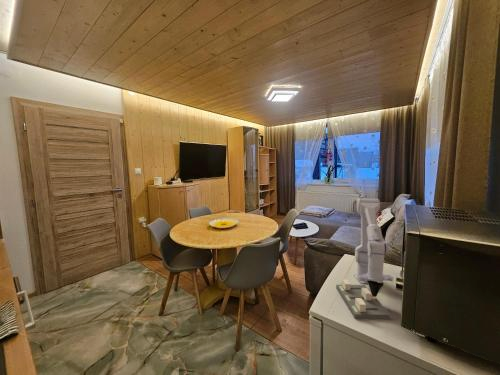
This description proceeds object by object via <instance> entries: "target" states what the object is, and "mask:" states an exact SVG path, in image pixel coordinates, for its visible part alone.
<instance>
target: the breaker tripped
mask: <svg viewBox="0 0 500 375" xmlns="http://www.w3.org/2000/svg"><path fill="white" fill-rule="evenodd" d="M367 288H368V287H367ZM367 288H362V291H361V295H362V296H363V297H364V299H365V300H371V298H372V293H371V292H370V291H369V290H370V289H369V288H368V289H369V290H368V289H367Z"/></svg>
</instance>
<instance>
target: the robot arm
mask: <svg viewBox="0 0 500 375" xmlns="http://www.w3.org/2000/svg"><path fill="white" fill-rule="evenodd" d="M380 201H381V200H380V199H379V198H363V197H362V198H361V197H358V198H357V199H356V212H357V214H359V215H360V244H359V245H358V246H356V247H355V249H354V251H355V252H354V260H355V262H356V263H357V270H356V272H357V273H354V274H353V276H354V277H355V278H356V280H357V281H358V282H359V283H360V284H368V287H369V290H370V291H371V293H372V296H373V297H376V298H377V296H378V294H379V292H380V290H381V289H382V288H383V287H384V281H389V282H393V281H394V277H393V276H392V275H391V274H384V262H385V255H387V250H388V248H387V246H388V245H387V243H386V241H385V239H384V238H383V234H382V228H381V227H380V226H379V225H378V219H377V218H378V216H377V213H378V212H379V210H380V208H381V202H380Z"/></svg>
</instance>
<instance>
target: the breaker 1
mask: <svg viewBox="0 0 500 375" xmlns="http://www.w3.org/2000/svg"><path fill="white" fill-rule="evenodd" d="M341 285H342V286H343V288H344V289H345V290H350V287H351V285H352V284H351V282H350V281H349V280H348V279H346V278H343V279H341Z"/></svg>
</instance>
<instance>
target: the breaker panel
mask: <svg viewBox="0 0 500 375" xmlns="http://www.w3.org/2000/svg"><path fill="white" fill-rule="evenodd" d="M335 288H336V291H337V292H338V294H339V295H340V297H341V299H342V300H343V302H344V304H345V306H346V307H347V309H348V310H349V313H351V315H352V316H353V318H354V320H364V319H365V320H391V314H390V313H389V311H388V310H387V309H386V307H385V306H383V304H382V303H381V302H380V301H379V299H377V296H376V297H373V296H372V298H371V300H365V299H364V297H363V296H362V295H361V291H362V288H367V289H368V290H369V291H370V288H368V286H366V284H351V287H350V290H345V289H344V288H343V286H342V284H336V286H335ZM370 292H371V291H370ZM355 298H361V299H362V300H363V301H364V303H365V304H366V312H360V311H359V310H358V308H357V307H356V306H355Z"/></svg>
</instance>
